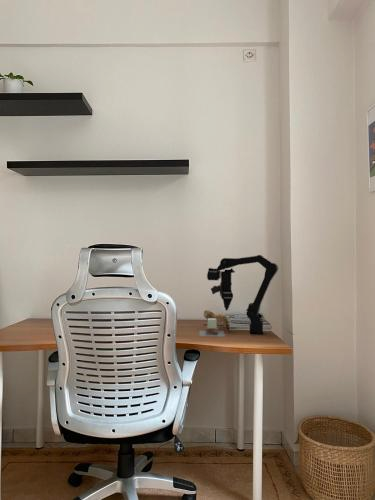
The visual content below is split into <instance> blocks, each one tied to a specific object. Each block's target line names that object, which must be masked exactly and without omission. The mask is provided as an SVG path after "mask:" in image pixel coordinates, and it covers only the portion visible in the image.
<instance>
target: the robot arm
mask: <svg viewBox="0 0 375 500" xmlns="http://www.w3.org/2000/svg"><path fill="white" fill-rule="evenodd" d="M255 263H259V265H261V266H262V267H263V268H264V269H265V272H264V276H263V280H262V282H261V285H260V287H259V289H258V291H257V294H256V296H255V298H254V300H253V302H249V303H248V307H247V309H246V310H245V311H246V317H247V318H248V319H249V320H250V322H249V325H248V329H249V330H248V331H249V333H250V334H251V335H258V334H259V335H264V330H263V329H264V321H263V318H264V316H263V315H262V314H261V313H260V311H261V305H262V302H263V300H264V297H265V295H266V293H267V291H268V288H269V287H270V284H271V281H273V279H274V277H275V276H276V274H277V273H278V271H279V268H280V267H279V266H278V264H277V263H275V262H271V261H270V260H268V258H265V257H264V256H263V255H262V254H258V255H253V256H245V257H237V258H234V257H232V258H230V257H224V258H222V259H220V262H219V265H218V267H216V268H213V267H209V268H208V270H207V273H206V279H207V281H219V280H220V282H219V284H218V285H213V286H212V287H211V288H210V290H211V294H212V295H215V294H216V293H219V297H220V298H221V300H222V301H223V306H224V307H223V308H225V309H224V311H229V307H230V305H231V303H232V300H233V299H234V293H233V292H232V285H233V284H232V273H233V274H234V273H236V271H235V270H234V269H233V268H234V267H236V266H240V265H247V264H255Z"/></svg>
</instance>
